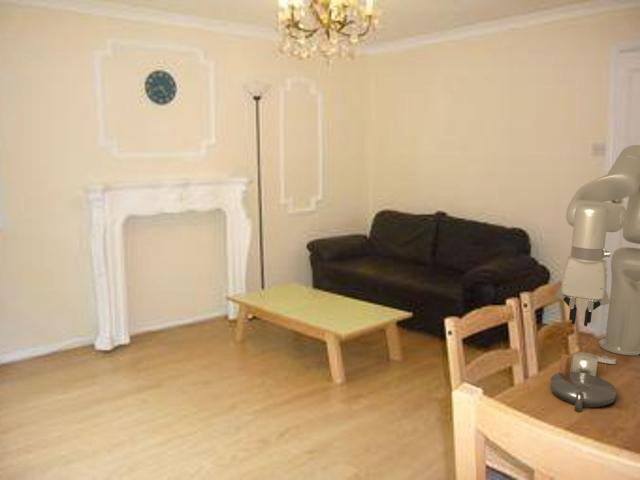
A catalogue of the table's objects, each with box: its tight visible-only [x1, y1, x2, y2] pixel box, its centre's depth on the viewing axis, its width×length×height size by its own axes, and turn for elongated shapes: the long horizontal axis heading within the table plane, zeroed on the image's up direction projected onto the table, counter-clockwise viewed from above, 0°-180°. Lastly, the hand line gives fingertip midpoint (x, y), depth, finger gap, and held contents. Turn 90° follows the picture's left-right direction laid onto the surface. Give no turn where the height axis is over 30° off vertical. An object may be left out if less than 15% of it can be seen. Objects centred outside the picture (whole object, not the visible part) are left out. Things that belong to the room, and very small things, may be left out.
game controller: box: [596, 354, 617, 370], centre depth 167 cm, size 6×12×3 cm, turn 171°
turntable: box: [549, 353, 617, 406], centre depth 146 cm, size 15×15×7 cm
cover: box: [571, 351, 599, 377], centre depth 158 cm, size 6×6×6 cm
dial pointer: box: [574, 390, 584, 413], centre depth 140 cm, size 3×2×4 cm, turn 152°
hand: (579, 323), depth 150 cm, fingers closed
